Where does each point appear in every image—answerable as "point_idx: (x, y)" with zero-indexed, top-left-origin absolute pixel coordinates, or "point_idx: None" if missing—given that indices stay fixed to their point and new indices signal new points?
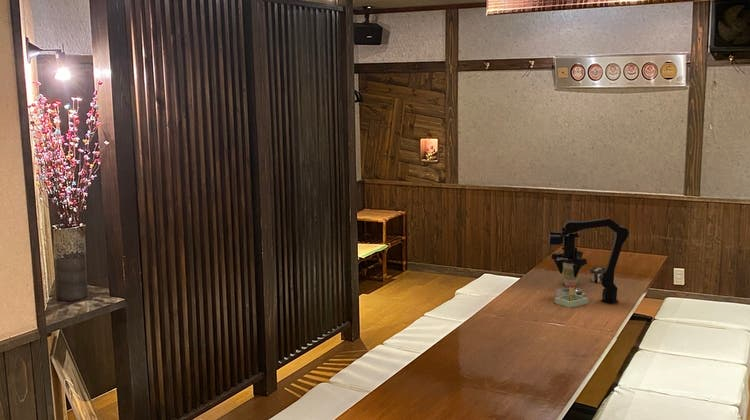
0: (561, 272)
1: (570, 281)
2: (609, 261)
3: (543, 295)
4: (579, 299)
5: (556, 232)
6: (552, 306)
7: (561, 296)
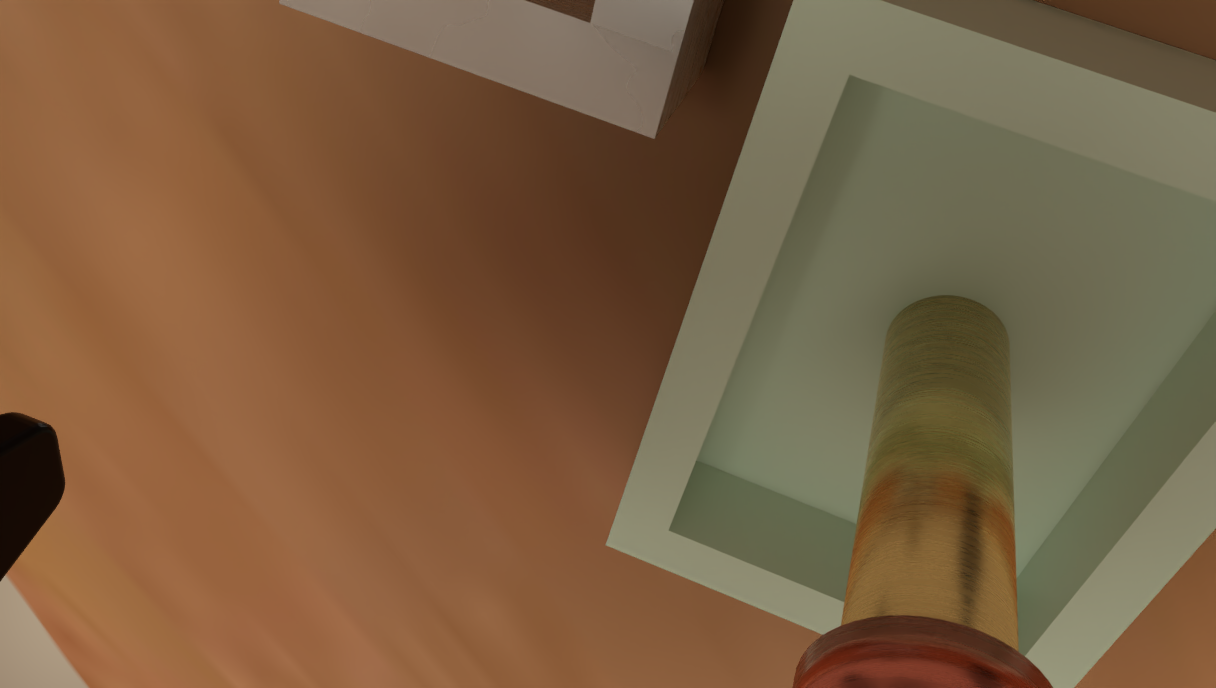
0: (18, 499)
1: None
2: None
3: (174, 86)
4: (1209, 466)
5: None
6: (717, 637)
7: (683, 430)
